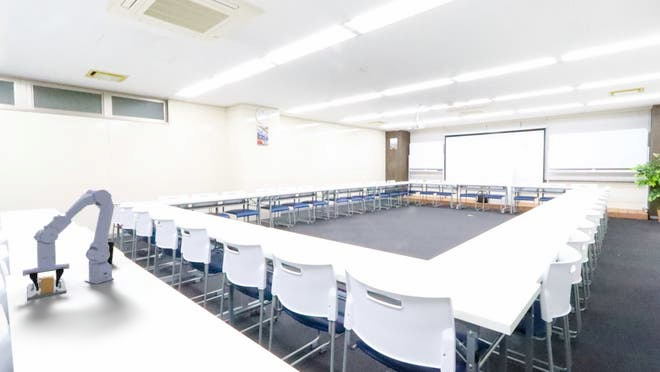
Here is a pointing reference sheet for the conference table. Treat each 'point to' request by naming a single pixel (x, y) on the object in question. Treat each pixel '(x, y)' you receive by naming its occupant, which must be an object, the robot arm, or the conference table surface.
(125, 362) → the conference table surface
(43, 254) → the robot arm
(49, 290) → the block
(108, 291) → the conference table surface
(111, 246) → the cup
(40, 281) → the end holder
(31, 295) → the board
